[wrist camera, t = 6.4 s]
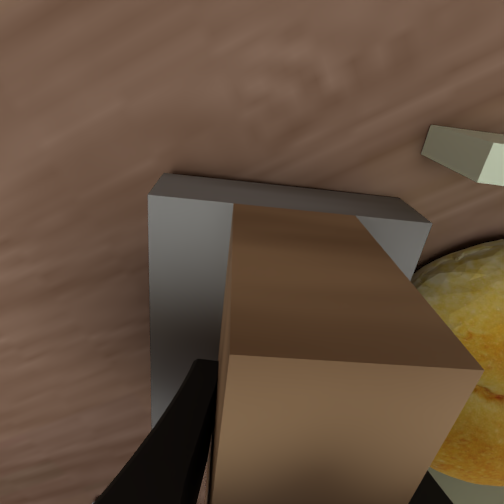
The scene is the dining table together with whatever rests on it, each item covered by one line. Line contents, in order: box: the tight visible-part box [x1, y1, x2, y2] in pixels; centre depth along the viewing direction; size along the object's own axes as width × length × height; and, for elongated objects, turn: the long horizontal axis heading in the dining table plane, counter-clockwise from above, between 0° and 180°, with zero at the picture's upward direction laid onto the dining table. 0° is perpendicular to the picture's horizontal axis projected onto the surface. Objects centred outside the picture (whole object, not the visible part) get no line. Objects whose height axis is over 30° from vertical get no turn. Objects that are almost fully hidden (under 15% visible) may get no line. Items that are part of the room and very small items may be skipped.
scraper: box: [148, 173, 485, 504], centre depth 9 cm, size 10×7×7 cm
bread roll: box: [410, 239, 504, 486], centre depth 11 cm, size 8×9×4 cm
